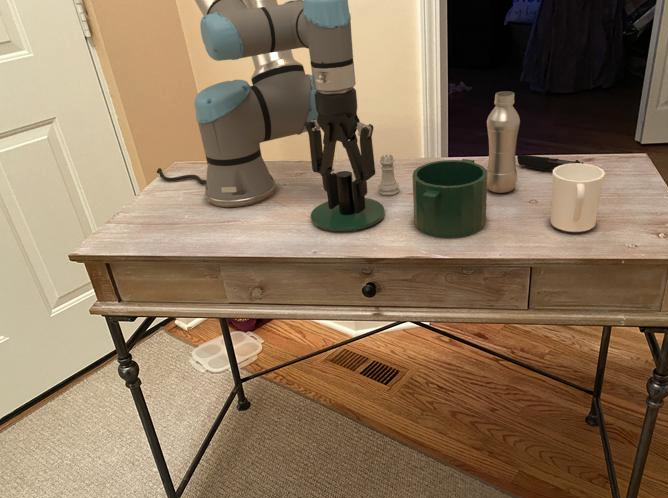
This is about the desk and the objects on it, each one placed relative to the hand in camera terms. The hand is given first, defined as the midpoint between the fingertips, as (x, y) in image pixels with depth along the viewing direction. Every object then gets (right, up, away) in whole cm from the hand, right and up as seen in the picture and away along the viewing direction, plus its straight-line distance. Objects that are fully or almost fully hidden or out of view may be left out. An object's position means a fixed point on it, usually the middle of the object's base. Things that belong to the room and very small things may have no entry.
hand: (347, 208), depth 121 cm
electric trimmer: (+45, +10, +15) cm, 48 cm away
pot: (+20, -3, -4) cm, 21 cm away
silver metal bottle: (+32, +5, +8) cm, 33 cm away
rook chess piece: (+8, +5, +10) cm, 14 cm away
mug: (+42, -5, -9) cm, 43 cm away
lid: (0, -1, +1) cm, 1 cm away
